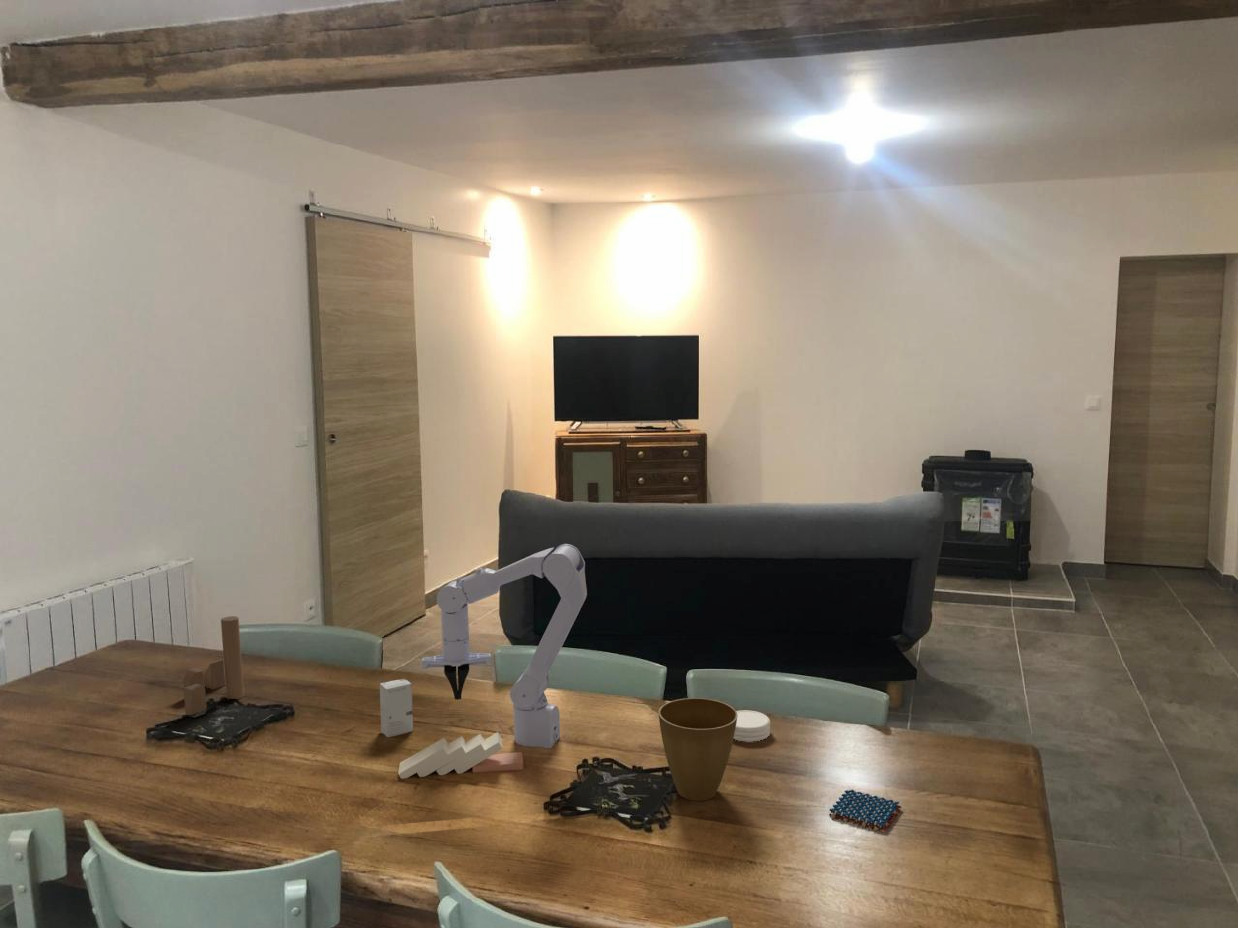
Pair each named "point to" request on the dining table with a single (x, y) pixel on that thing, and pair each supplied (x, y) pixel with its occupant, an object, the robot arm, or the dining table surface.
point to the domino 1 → (423, 758)
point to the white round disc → (751, 726)
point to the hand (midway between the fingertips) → (458, 697)
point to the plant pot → (697, 744)
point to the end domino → (500, 762)
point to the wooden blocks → (217, 671)
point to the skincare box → (396, 707)
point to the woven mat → (865, 810)
